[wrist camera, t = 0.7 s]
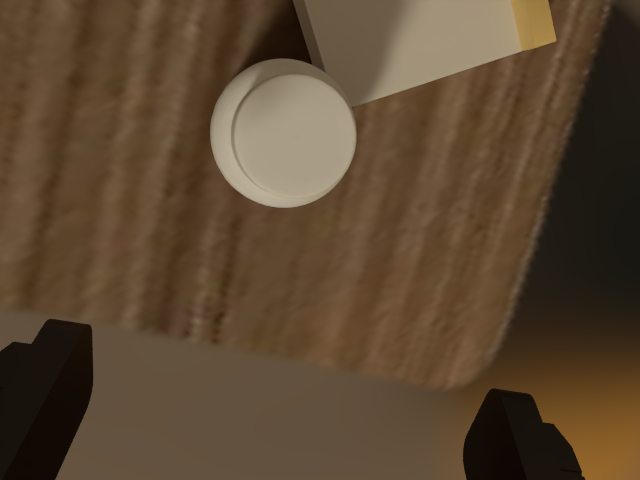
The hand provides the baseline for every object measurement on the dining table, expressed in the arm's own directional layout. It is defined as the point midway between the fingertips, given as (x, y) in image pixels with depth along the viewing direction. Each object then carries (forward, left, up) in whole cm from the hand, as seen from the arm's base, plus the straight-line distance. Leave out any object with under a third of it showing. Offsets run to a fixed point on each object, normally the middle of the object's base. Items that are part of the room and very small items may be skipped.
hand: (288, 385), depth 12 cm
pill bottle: (-4, +3, -18) cm, 18 cm away
